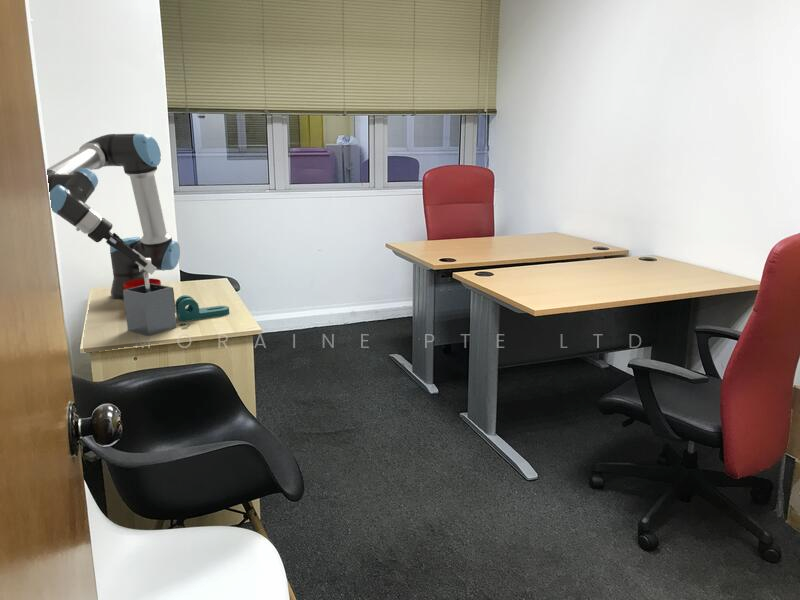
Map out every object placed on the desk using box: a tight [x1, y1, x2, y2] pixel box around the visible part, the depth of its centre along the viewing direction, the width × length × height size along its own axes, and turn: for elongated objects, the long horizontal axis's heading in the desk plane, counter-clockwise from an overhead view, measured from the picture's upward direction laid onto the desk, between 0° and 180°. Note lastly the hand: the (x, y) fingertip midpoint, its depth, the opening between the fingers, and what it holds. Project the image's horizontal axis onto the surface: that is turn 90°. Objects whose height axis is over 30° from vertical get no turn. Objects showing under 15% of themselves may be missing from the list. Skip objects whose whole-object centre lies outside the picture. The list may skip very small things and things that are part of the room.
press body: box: [123, 283, 177, 337], centre depth 212 cm, size 15×11×14 cm
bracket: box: [175, 294, 230, 323], centre depth 226 cm, size 18×7×8 cm, turn 120°
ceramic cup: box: [124, 278, 162, 290], centre depth 236 cm, size 13×17×10 cm
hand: (150, 267), depth 208 cm, fingers open, 13 cm apart
